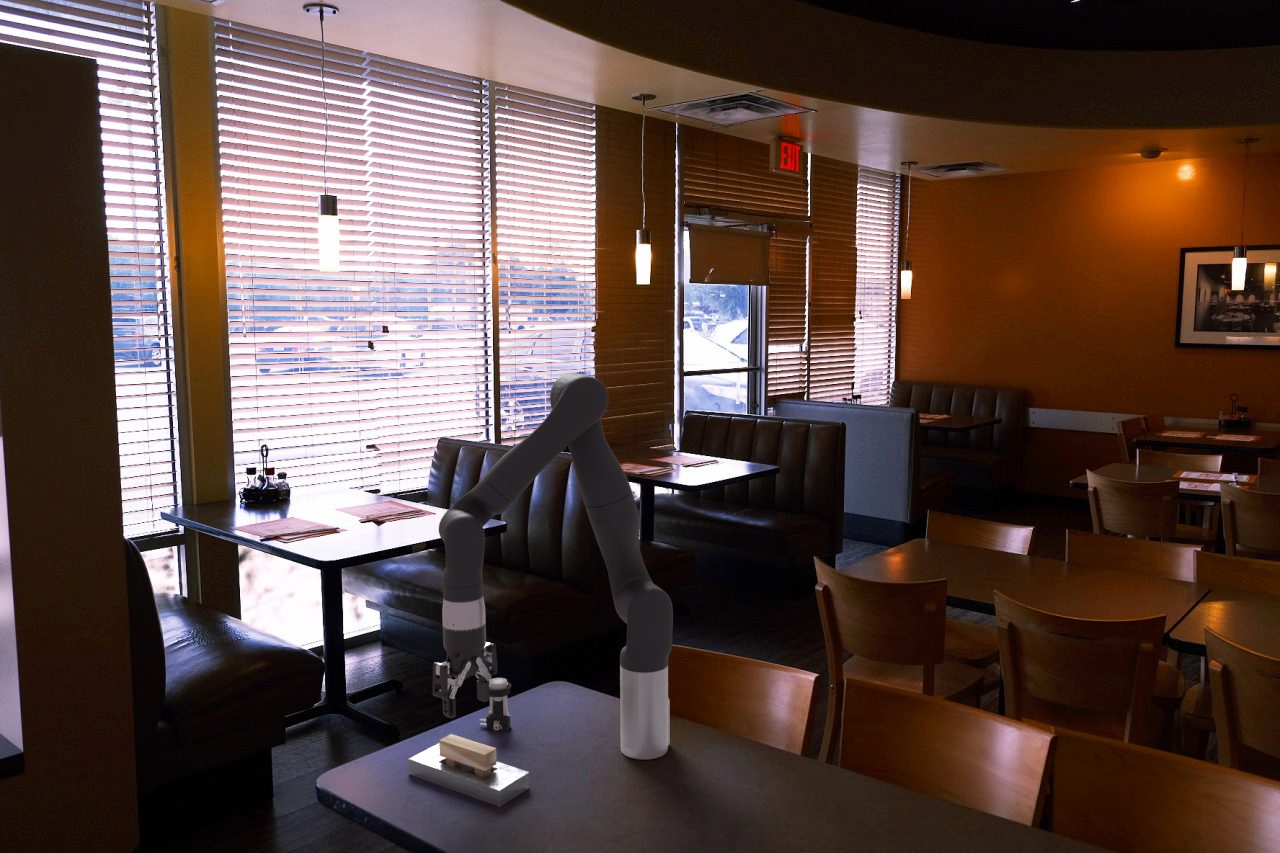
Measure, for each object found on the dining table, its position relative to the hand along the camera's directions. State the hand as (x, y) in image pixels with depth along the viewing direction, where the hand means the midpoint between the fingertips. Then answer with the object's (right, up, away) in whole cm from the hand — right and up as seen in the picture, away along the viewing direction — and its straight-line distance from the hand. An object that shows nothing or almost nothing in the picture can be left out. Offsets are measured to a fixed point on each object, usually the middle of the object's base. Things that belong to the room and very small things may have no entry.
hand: (466, 708), depth 174 cm
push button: (+2, -11, +24) cm, 27 cm away
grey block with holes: (0, -14, +2) cm, 14 cm away
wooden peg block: (0, -14, +2) cm, 14 cm away
